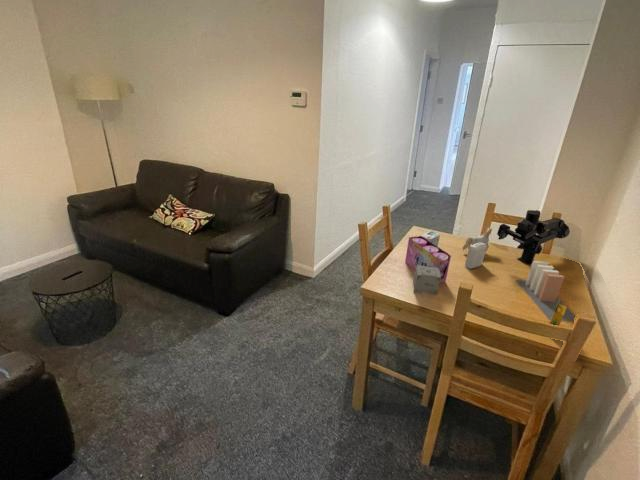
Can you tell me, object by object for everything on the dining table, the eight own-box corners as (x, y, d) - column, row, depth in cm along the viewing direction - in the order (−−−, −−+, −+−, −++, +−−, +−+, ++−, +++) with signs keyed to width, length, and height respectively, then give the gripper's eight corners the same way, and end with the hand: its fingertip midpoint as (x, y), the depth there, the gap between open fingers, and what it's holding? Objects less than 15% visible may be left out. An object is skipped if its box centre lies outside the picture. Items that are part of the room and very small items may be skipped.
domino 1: (525, 283, 154) (533, 260, 149) (538, 284, 154) (547, 261, 149) (526, 285, 153) (534, 262, 148) (540, 286, 152) (549, 263, 147)
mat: (515, 280, 157) (515, 279, 157) (541, 282, 157) (541, 281, 157) (548, 320, 130) (549, 319, 130) (581, 323, 129) (581, 322, 129)
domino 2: (529, 288, 151) (537, 264, 146) (543, 289, 150) (552, 265, 145) (531, 290, 149) (539, 266, 144) (545, 291, 149) (554, 267, 144)
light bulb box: (425, 248, 186) (429, 230, 182) (437, 252, 182) (440, 233, 177) (415, 253, 179) (418, 235, 175) (427, 258, 175) (430, 239, 170)
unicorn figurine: (493, 251, 186) (500, 228, 180) (471, 258, 176) (477, 235, 171) (482, 246, 192) (488, 224, 186) (460, 253, 182) (465, 230, 176)
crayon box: (554, 337, 121) (565, 311, 116) (545, 333, 123) (555, 307, 118) (558, 328, 126) (568, 302, 121) (548, 324, 128) (559, 299, 123)
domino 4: (538, 298, 143) (547, 274, 138) (552, 299, 143) (562, 275, 138) (540, 300, 142) (549, 276, 137) (554, 301, 141) (564, 277, 136)
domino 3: (533, 293, 147) (542, 269, 142) (548, 294, 146) (557, 270, 142) (535, 295, 145) (544, 271, 140) (549, 296, 145) (559, 272, 140)
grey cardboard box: (413, 294, 143) (417, 272, 139) (412, 283, 151) (415, 263, 147) (437, 297, 142) (442, 275, 138) (435, 286, 150) (439, 266, 145)
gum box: (448, 284, 152) (454, 257, 147) (433, 286, 150) (439, 259, 144) (417, 259, 173) (422, 235, 167) (404, 261, 170) (408, 237, 165)
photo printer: (475, 261, 173) (481, 239, 168) (483, 265, 170) (489, 242, 165) (463, 266, 168) (468, 243, 163) (470, 270, 165) (476, 247, 160)
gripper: (512, 210, 167) (494, 219, 159) (552, 226, 154) (534, 237, 146) (505, 230, 173) (488, 239, 165) (543, 246, 160) (525, 257, 152)
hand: (508, 242), depth 157 cm, fingers open, 9 cm apart
